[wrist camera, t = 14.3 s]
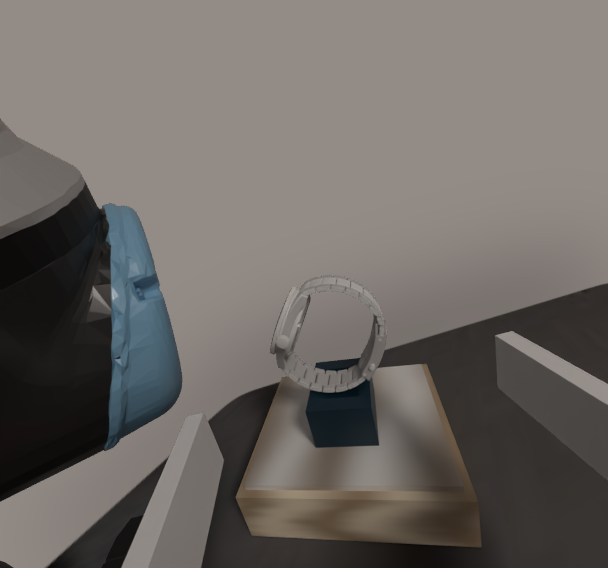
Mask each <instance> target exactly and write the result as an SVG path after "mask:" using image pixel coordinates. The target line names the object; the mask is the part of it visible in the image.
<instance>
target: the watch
mask: <svg viewBox="0 0 608 568" xmlns="http://www.w3.org/2000/svg"><path fill="white" fill-rule="evenodd" d="M330 289H331V291H333V292H340V293H344V291H345V293H346V294H347V295H350V296H352V297H354V298H357V297H358V299H359V300H360V301H362V302H363V303H364V304H365V305H369V308H370V310H371V311H372V312H373V314H374V322H373V326H372V331H371V335H370V339H369V341H368V343H367V345H366V348H365V349H364V351H363V353H362V354H361V358H357V359H347V360H338V361H329V362H320V363H316V366H315V368H314V367H313V366H311V365H309V364H307V363H304V361H303V360H302V359H301V358H299V357H298V356H297V355H295V352H294V351H293V350H294V347H295V344H296V342H297V339H298V336H299V333H300V330H301V327H302V324H303V321H304V318H305V315H306V312H307V309H308V305H309V303H310V294H313V293H315V292H316V291H317V292H325V291H329V290H330ZM386 339H387V328H386V322H385V320H383V316H382V312H381V308H380V305H379V303H378V301H377V300H376V298H375V297H374V295H373V294H372V293H371V292H369V290H368V289H367V288H366V287H364V286H363V285H361V284H359V283H358V282H356V281H354V280H352V279H349V278H347V279H346V278H345V277H342V276H332V275H329V276H321V277H316V278H312V279H310V280H307V281H306V282H305V283H304V284H303V285H302V287H301V288H300V289H297V287H295V286H294V287H293V288H292V289H291V290H290V292H289V295H288V297H287V299H286V301H285V303H284V306H283V308H282V311H281V313H280V316H279V319H278V322H277V325H276V328H275V331H274V335H273V339H272V343H271V349H270V353H271V354H275V353H276V359H277V364H278V367H279V368H281V369H282V370H283V371H284V372H285V373H286V374H288V377H290V378H291V379H292V380H293V381H295V382H298V384H299V385H301V386H303V387H305V388H309V387H310V393H309V398H308V402H307V407H306V411H305V412H306V416H307V419H308V423H309V426H310V430H311V433H312V436H313V440H314V443H315V447H316V448H325V447H354V446H379V437H378V426H377V415H376V403H375V392H374V385H373V380H372V376H373V374H374V372H375V371H376V369H377V367H378V365H379V363H380V361H381V358H382V356H383V353H384V349H385V345H386ZM303 363H304V364H303ZM313 369H314V371H313ZM305 370H306V371H305ZM303 377H304V378H303Z"/></svg>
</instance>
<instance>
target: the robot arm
mask: <svg viewBox="0 0 608 568" xmlns="http://www.w3.org/2000/svg"><path fill="white" fill-rule="evenodd" d="M495 340H496V362H497V383H498V388H499V389H500V390H501V391H503V392H504V393H505V394H506V395H507V396H508V397H510V398H511V399H512V400H513V401H514V402H516V403H517V404H518V405H519V406H520V407H521V408H523V409H524V410H525V411H526V412H527V413H529V414H530V415H531V416H532V417H533V418H534V419H536V420H537V421H538V422H539V423H540V424H542V425H543V426H544V427H545V428H546V429H547V430H549V431H550V432H551V433H552V434H553V435H554V436H556V437H557V438H558V439H559V440H560V441H562V442H563V443H564V444H565V445H566V446H567V447H569V448H570V449H571V450H572V451H573V452H575V453H576V454H577V455H578V456H579V457H580V458H582V459H583V460H584V461H585V462H586V463H588V464H589V465H590V466H591V467H592V468H593V469H595V470H596V471H597V472H598V473H599V474H601V475H602V476H603V477H604V478H605V479H606V480H608V384H606V383H605V382H603V381H601V380H599V379H597V378H596V377H594V376H592V375H590V374H588V373H587V372H585V371H583V370H581V369H579V368H578V367H576V366H574V365H572V364H570V363H569V362H567V361H565V360H563V359H561V358H560V357H558V356H556V355H554V354H552V353H551V352H549V351H547V350H545V349H543V348H542V347H540V346H538V345H536V344H534V343H533V342H531V341H529V340H527V339H525V338H523V337H522V336H520V335H518V334H516V333H514V332H513V331H511V332H507V333H503V334H499V335H495ZM181 388H182V372H181V367H180V361H179V356H178V351H177V347H176V342H175V338H174V334H173V330H172V327H171V322H170V319H169V315H168V312H167V308H166V304H165V301H164V298H163V295H162V293H161V291H160V289H159V281H158V278H157V274H156V271H155V266H154V261H153V258H152V254H151V251H150V248H149V245H148V242H147V239H146V236H145V232H144V230H143V227H142V224H141V221H140V219H139V217H138V215H137V213H136V212H135V211H134V210H133V209H132V208H130V207H127V206H116V205H114V204H112V203H109V204H106V205H103V206H102V209H99V208H98V207H97V205H96V203H95V201H94V199H93V197H92V195H91V193H90V191H89V189H88V187H87V185H86V183H85V181H84V179H83V177H82V175H81V173H80V171H79V170H78V169H77V168H76V167H74V166H73V165H71V164H69V163H67V162H65V161H63V160H61V159H59V158H57V157H55V156H53V155H51V154H50V153H47V152H45V151H43V150H42V149H40V148H38V147H36V146H34V145H32V144H30V143H28V142H26V141H24V140H22V139H20V138H18V137H17V136H16V135H15V134H14V133H13V132H12V131H11V130H10V129H9V128H8V127H7V126H6V125H5V124H4V123H3V122H2V121H1V119H0V501H2V500H4V499H6V498H8V497H10V496H12V495H14V494H16V493H18V492H20V491H22V490H24V489H26V488H28V487H30V486H32V485H34V484H36V483H38V482H40V481H42V480H44V479H46V478H49V477H50V476H53V475H55V474H57V473H59V472H61V471H63V470H65V469H66V468H69V467H71V466H73V465H74V464H76V463H78V462H81V461H82V460H85V459H87V458H89V457H91V456H92V455H94V454H97V453H98V452H101V451H102V450H104V451H106V450H108V449H111V448H113V447H114V446H115V445H116V444H117V443H118V442H119V440H120V439H121V438H123V437H124V436H126V435H128V434H130V433H131V432H133V431H135V430H137V429H138V428H140V427H142V426H143V425H145V424H147V423H149V422H151V421H152V420H154V419H156V418H158V417H160V416H161V415H163V414H164V413H166V412H167V411H168V410H169V409H170V408H171V407H172V406H173V405H174V404H175V402H176V401H177V399H178V397H179V394H180V392H181ZM223 462H224V459H223V457H222V454H221V452H220V449H219V447H218V445H217V442H216V440H215V438H214V435H213V433H212V431H211V428H210V426H209V423H208V421H207V419H206V416H205V414H204V412H202V413H199V414H194V415H191V416H187V417H186V419H185V421H184V424H183V426H182V428H181V431H180V433H179V435H178V437H177V440H176V442H175V444H174V447H173V449H172V451H171V454H170V456H169V458H168V461H167V463H166V465H165V468H164V470H163V472H162V474H161V477H160V479H159V481H158V484H157V486H156V488H155V491H154V493H153V495H152V498H151V500H150V502H149V505H148V507H147V509H146V512H145V514H144V515H142V516H139V517H135V518H131V519H130V521H129V522H128V523H127V525H126V526H125V527H124V529H123V530H122V531H121V532H120V534H119V535H118V536H117V538H116V540H115V542H114V544H113V546H112V548H111V550H110V552H109V554H108V556H107V558H106V563H105V564H103V566H102V568H201V565H202V560H203V556H204V551H205V546H206V542H207V537H208V532H209V527H210V523H211V518H212V513H213V509H214V504H215V499H216V495H217V490H218V485H219V481H220V476H221V471H222V467H223ZM0 568H13V567H11V566H10V565H8V564H7V563H5V562H2V561H0Z"/></svg>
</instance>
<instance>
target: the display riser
mask: <svg viewBox="0 0 608 568" xmlns="http://www.w3.org/2000/svg"><path fill="white" fill-rule="evenodd" d="M303 378H304V377H303ZM372 380H373V385H374V392H375V403H376V415H377V426H378V437H379V446H354V447H325V448H316V447H315V443H314V440H313V436H312V433H311V430H310V426H309V423H308V419H307V416H306V412H305V411H306V407H307V402H308V398H309V393H310V387H309V388H305V387H303V386H301V385H299V384H298V382H295V381H293V380H292V379H291V378H290V377H282V379H281V381H280V384H279V387H278V389H277V392H276V394H275V397H274V399H273V402H272V405H271V407H270V410H269V412H268V415H267V418H266V420H265V423H264V425H263V428H262V430H261V433H260V436H259V438H258V441H257V443H256V446H255V449H254V451H253V454H252V456H251V459H250V461H249V464H248V467H247V469H246V472H245V474H244V477H243V480H242V482H241V485H240V487H239V490H238V493H237V495H236V500H237V502H238V505H239V507H240V509H241V512H242V514H243V516H244V519H245V521H246V523H247V526H248V528H249V530H250V533H251V535H252V536H269V537H288V538H308V539H327V540H346V541H366V542H385V543H405V544H424V545H444V546H463V547H482V543H481V530H480V518H479V505H478V500H477V497H476V494H475V492H474V489H473V487H472V484H471V481H470V479H469V476H468V473H467V471H466V468H465V465H464V463H463V460H462V457H461V455H460V452H459V449H458V447H457V444H456V441H455V439H454V436H453V433H452V431H451V428H450V425H449V423H448V420H447V417H446V415H445V412H444V409H443V407H442V404H441V401H440V399H439V396H438V393H437V391H436V388H435V385H434V383H433V380H432V377H431V375H430V372H429V370H428V367H427V364H417V365H406V366H396V367H385V368H377V369H376V371H375V372H374V374H373V376H372Z"/></svg>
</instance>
